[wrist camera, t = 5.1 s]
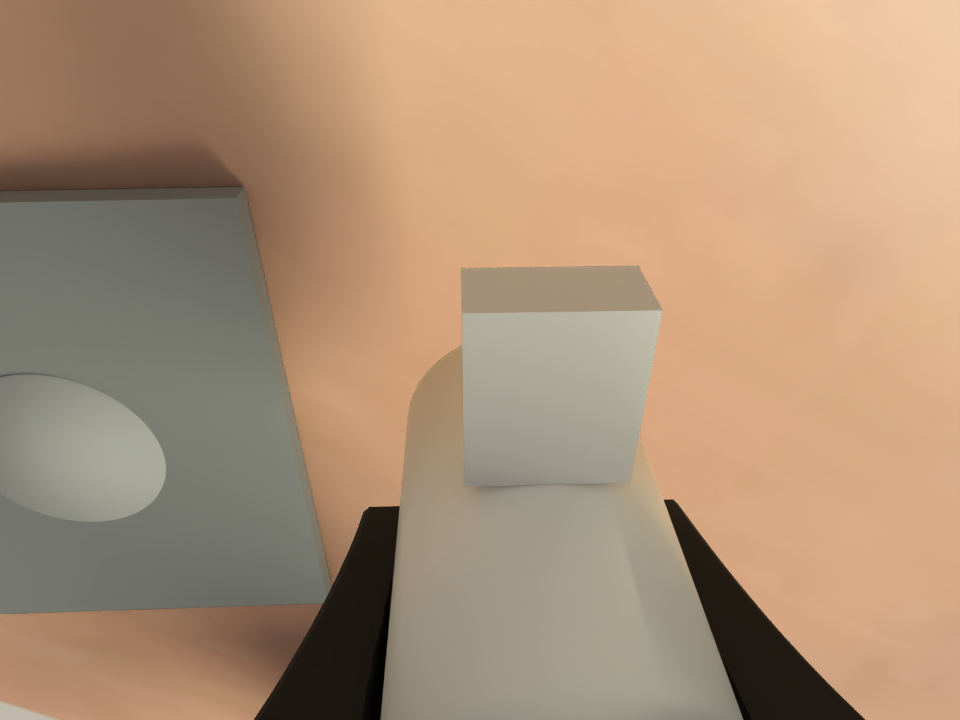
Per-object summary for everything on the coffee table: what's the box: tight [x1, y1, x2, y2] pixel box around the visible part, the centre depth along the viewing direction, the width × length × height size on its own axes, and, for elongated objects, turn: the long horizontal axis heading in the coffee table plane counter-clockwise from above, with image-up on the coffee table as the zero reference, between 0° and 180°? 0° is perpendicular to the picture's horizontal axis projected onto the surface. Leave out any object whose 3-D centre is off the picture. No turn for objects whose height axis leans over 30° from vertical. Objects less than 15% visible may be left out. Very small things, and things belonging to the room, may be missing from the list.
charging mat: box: [0, 187, 332, 614], centre depth 20 cm, size 16×14×1 cm
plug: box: [380, 266, 743, 720], centre depth 9 cm, size 9×4×6 cm, turn 0°
